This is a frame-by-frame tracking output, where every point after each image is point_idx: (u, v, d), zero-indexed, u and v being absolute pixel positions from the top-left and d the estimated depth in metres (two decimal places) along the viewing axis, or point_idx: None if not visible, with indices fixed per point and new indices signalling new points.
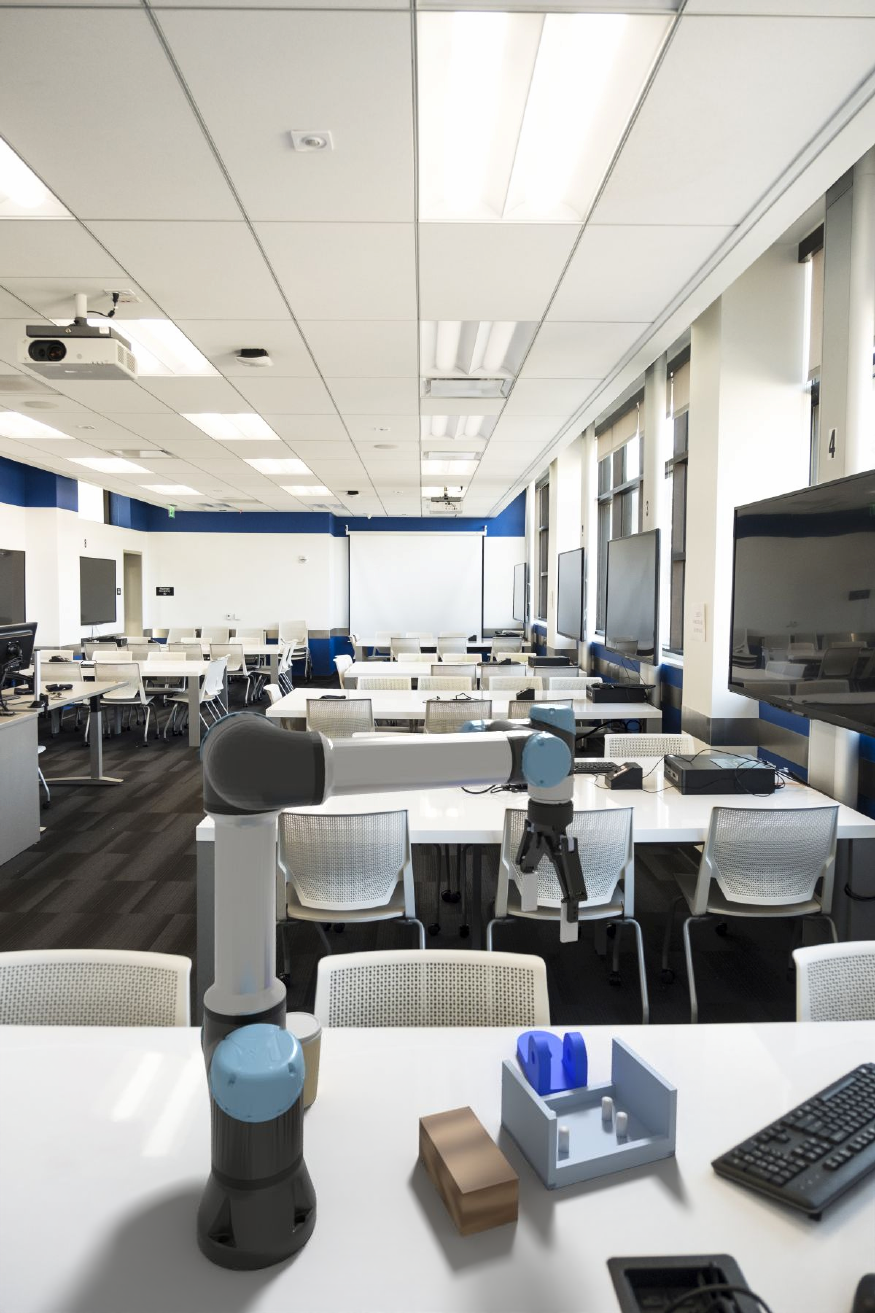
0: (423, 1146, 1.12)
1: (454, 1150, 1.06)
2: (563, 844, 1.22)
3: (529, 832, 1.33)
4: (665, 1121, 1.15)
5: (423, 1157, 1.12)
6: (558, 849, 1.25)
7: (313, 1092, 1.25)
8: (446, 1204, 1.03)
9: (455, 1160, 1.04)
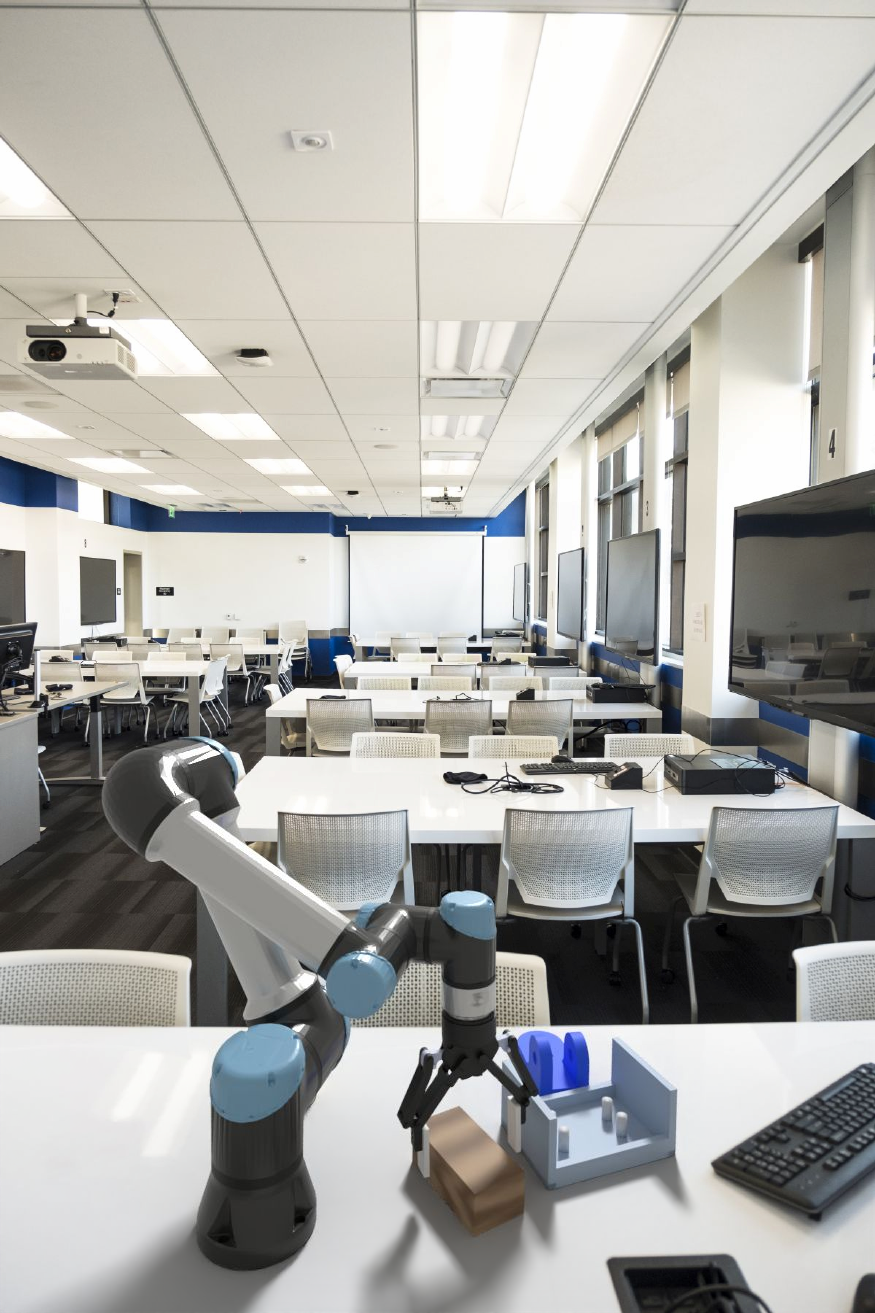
0: None
1: (455, 1152, 1.06)
2: None
3: None
4: (665, 1121, 1.15)
5: None
6: None
7: None
8: (451, 1206, 1.03)
9: (458, 1161, 1.04)
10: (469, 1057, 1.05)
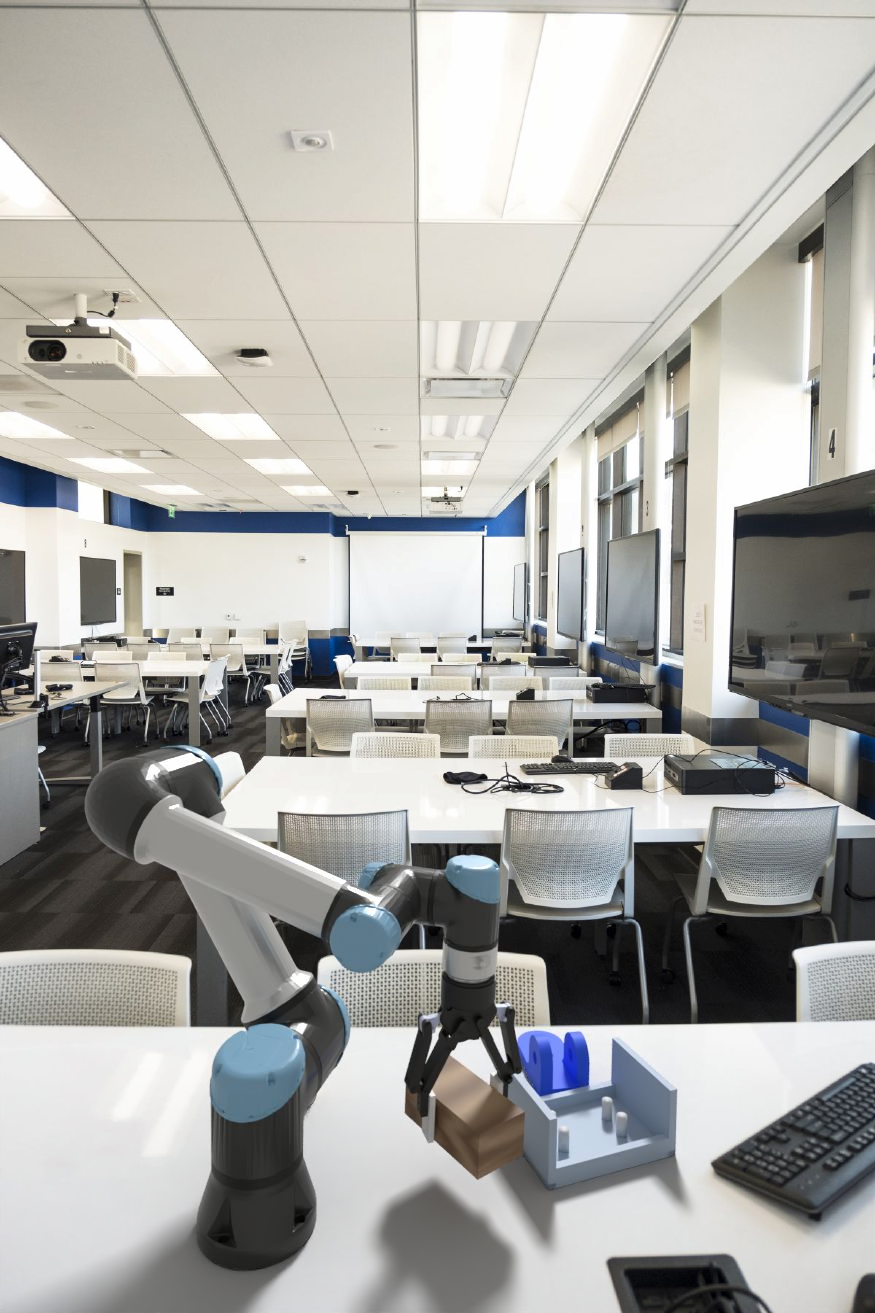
0: (413, 1100, 1.10)
1: (453, 1097, 1.06)
2: None
3: None
4: (665, 1121, 1.15)
5: (412, 1111, 1.10)
6: None
7: None
8: (451, 1150, 1.03)
9: (458, 1105, 1.04)
10: (467, 1019, 1.05)
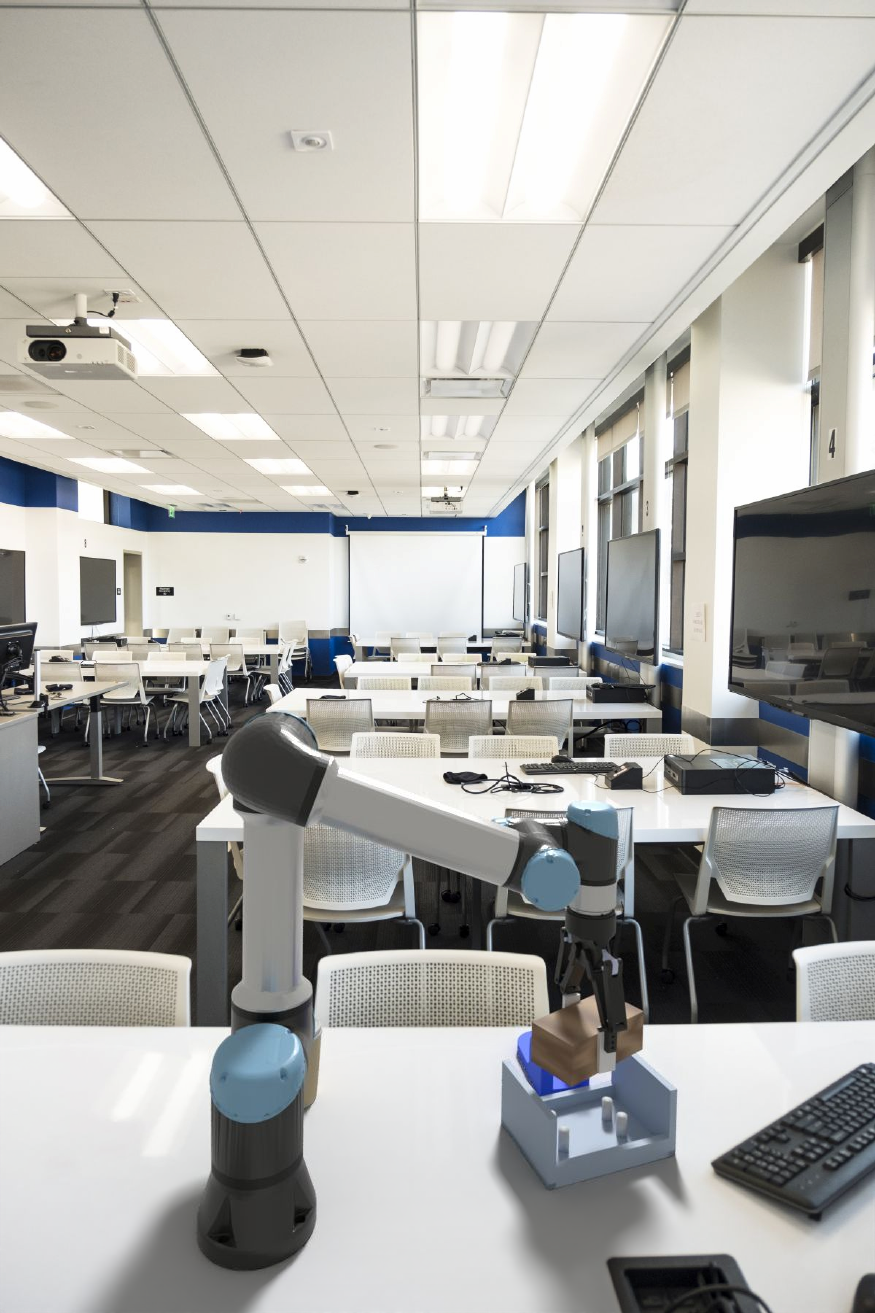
0: (580, 1062, 1.10)
1: (599, 1021, 1.15)
2: (606, 968, 1.10)
3: (566, 943, 1.21)
4: (665, 1121, 1.15)
5: (580, 1073, 1.10)
6: None
7: (313, 1092, 1.25)
8: (620, 1056, 1.16)
9: None
10: None
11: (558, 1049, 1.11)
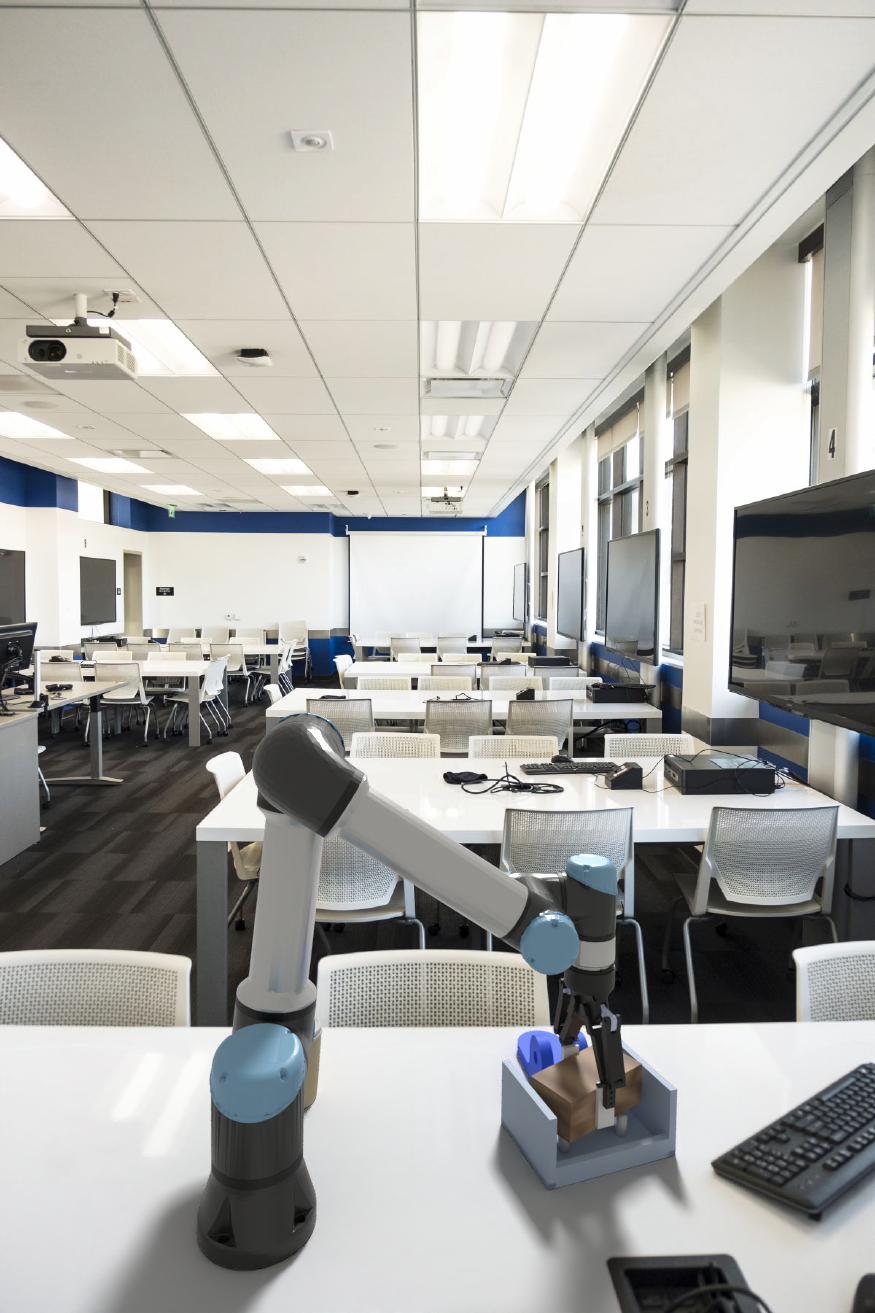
0: (579, 1118, 1.10)
1: (598, 1075, 1.16)
2: (605, 1025, 1.10)
3: (565, 994, 1.22)
4: (665, 1121, 1.15)
5: (579, 1129, 1.11)
6: None
7: (313, 1092, 1.25)
8: (619, 1109, 1.16)
9: None
10: None
11: (557, 1105, 1.11)
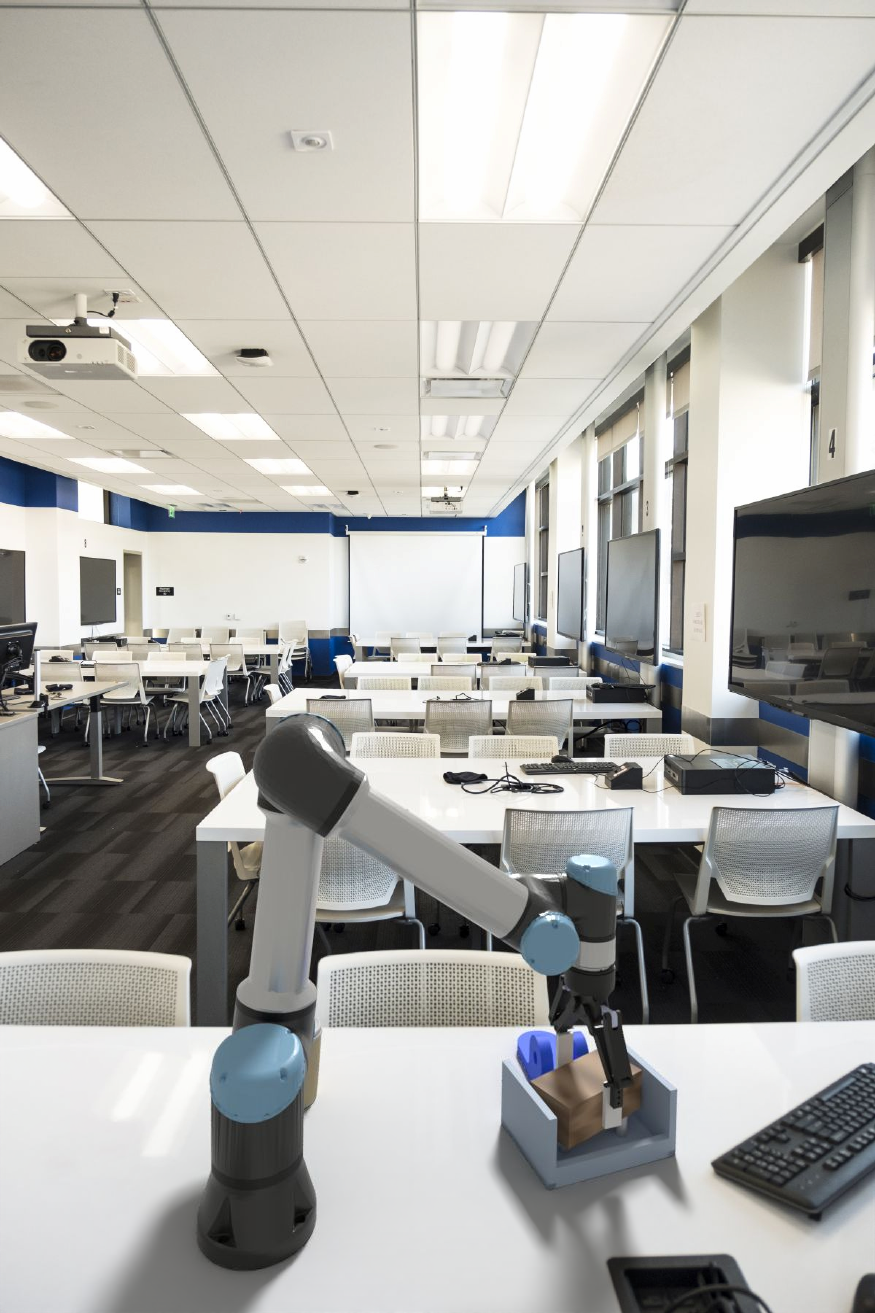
0: (578, 1124, 1.11)
1: (597, 1081, 1.16)
2: (606, 1021, 1.10)
3: (564, 990, 1.22)
4: (665, 1121, 1.15)
5: (578, 1135, 1.11)
6: (599, 1020, 1.14)
7: (313, 1092, 1.25)
8: None
9: None
10: None
11: (556, 1111, 1.11)
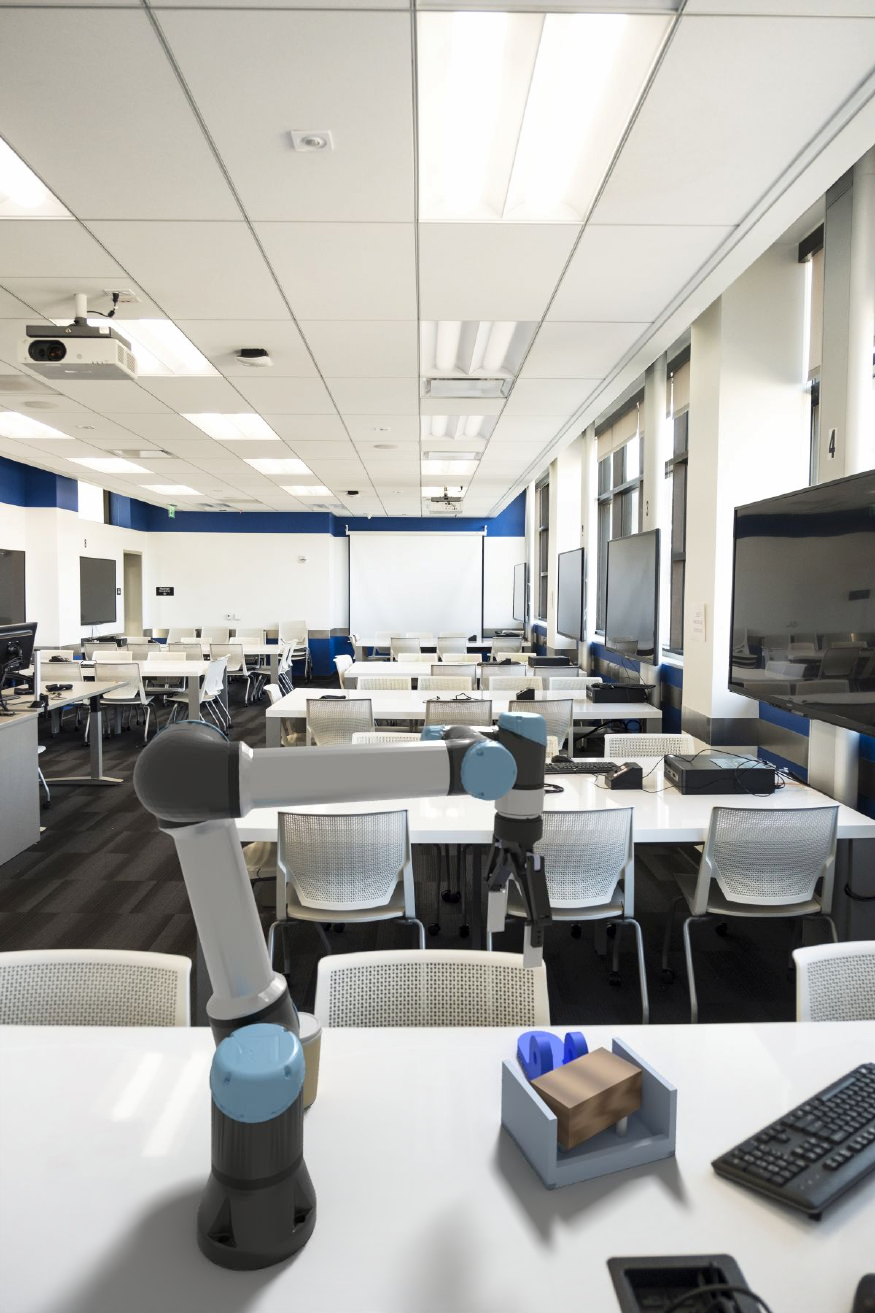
0: (578, 1124, 1.11)
1: (597, 1081, 1.16)
2: (528, 862, 1.13)
3: (497, 848, 1.25)
4: (665, 1121, 1.15)
5: (578, 1135, 1.11)
6: (524, 867, 1.17)
7: (313, 1092, 1.25)
8: (618, 1116, 1.16)
9: (608, 1079, 1.17)
10: None
11: (556, 1111, 1.11)
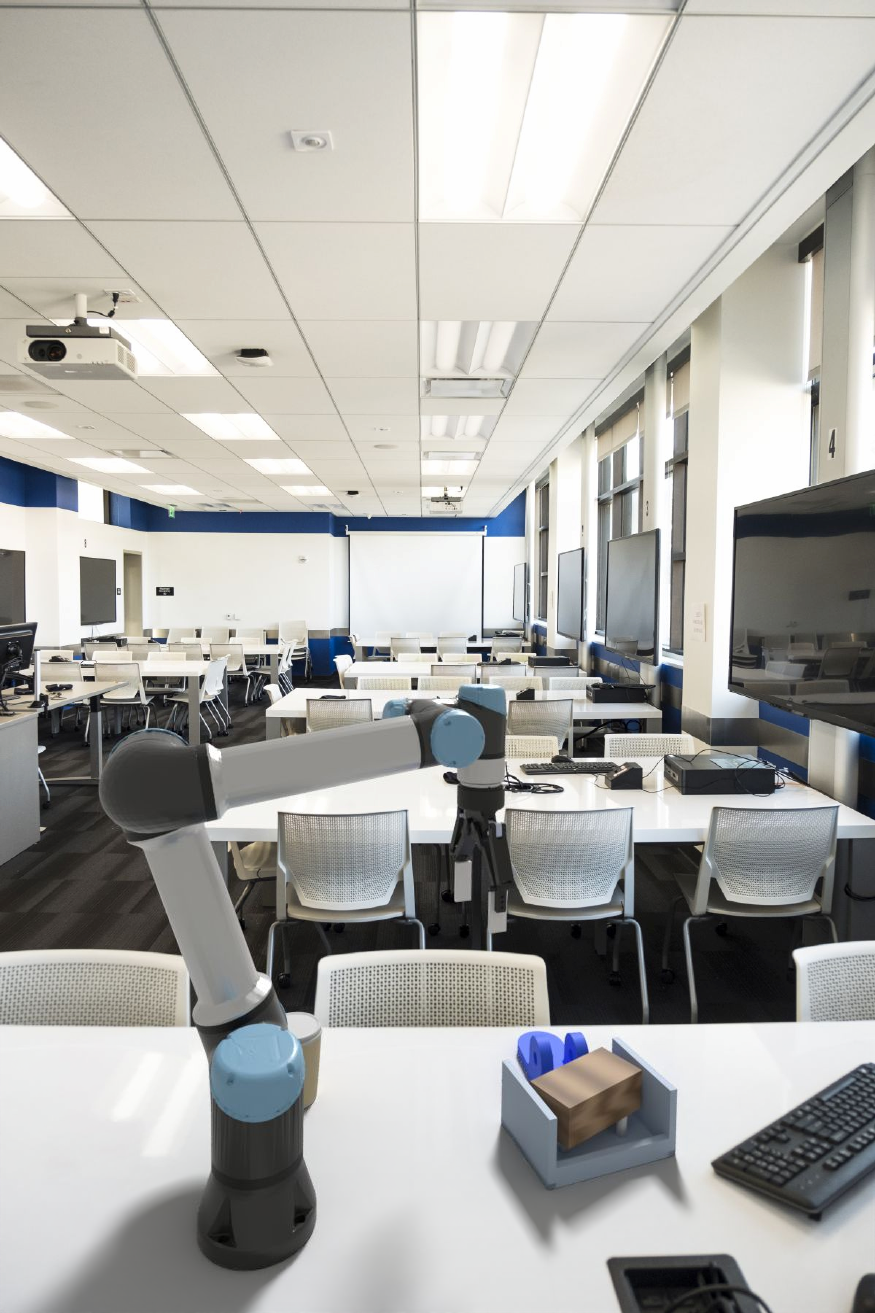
0: (578, 1124, 1.11)
1: (597, 1081, 1.16)
2: (490, 830, 1.16)
3: (461, 819, 1.27)
4: (665, 1121, 1.15)
5: (578, 1135, 1.11)
6: (487, 835, 1.19)
7: (313, 1092, 1.25)
8: (618, 1116, 1.16)
9: (608, 1079, 1.17)
10: None
11: (556, 1111, 1.11)
